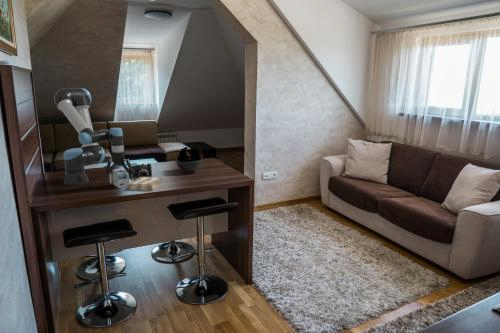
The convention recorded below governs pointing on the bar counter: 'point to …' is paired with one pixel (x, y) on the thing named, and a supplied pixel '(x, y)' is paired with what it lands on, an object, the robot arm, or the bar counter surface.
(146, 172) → the camera
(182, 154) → the coal bowl
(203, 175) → the bar counter surface
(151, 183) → the base
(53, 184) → the bar counter surface
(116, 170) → the light bulb box
